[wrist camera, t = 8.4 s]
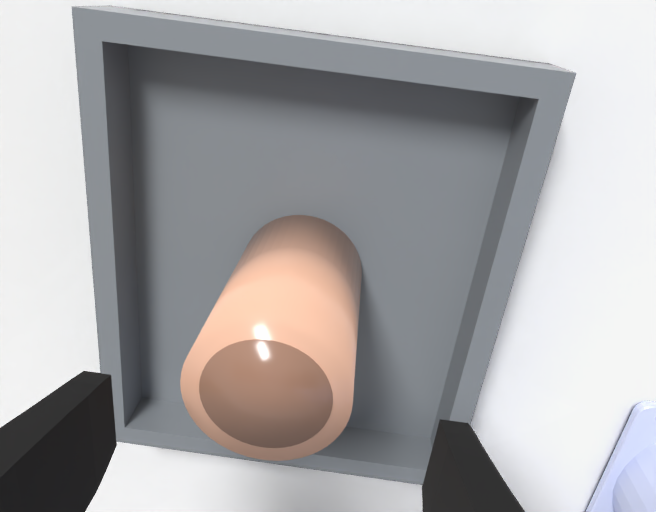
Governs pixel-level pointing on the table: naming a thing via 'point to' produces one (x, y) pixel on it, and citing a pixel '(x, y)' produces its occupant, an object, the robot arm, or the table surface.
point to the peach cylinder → (280, 344)
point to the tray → (307, 207)
